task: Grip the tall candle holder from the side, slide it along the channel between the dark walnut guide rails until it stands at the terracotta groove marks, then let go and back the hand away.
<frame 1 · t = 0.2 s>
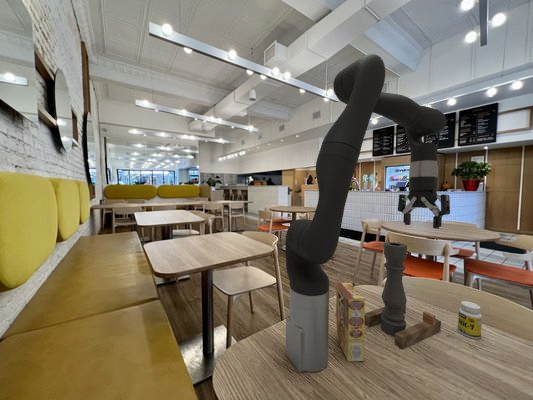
hand: (421, 226, 71), 29 cm above the table, tool pointing down, fingers open, 8 cm apart
candle holder: (392, 331, 63), on the table
supplement bottle: (469, 334, 62), on the table
guide rails: (400, 327, 64), on the table
candy box: (348, 349, 56), on the table
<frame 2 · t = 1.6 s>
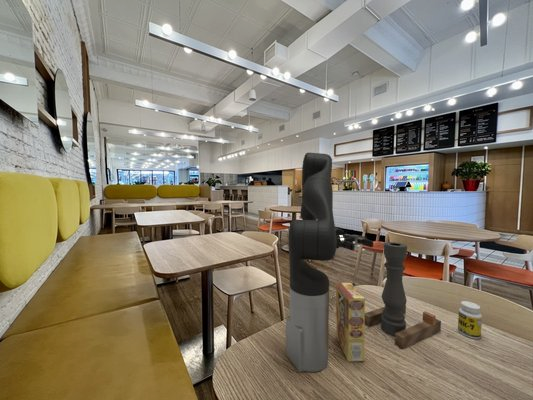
hand: (363, 245, 72), 22 cm above the table, tool horizontal, fingers open, 8 cm apart
nothing on the table moved.
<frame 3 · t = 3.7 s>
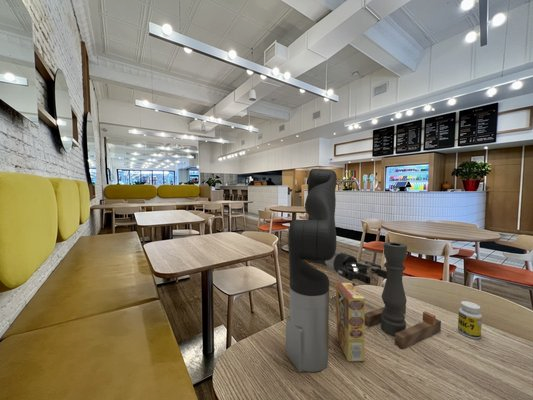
hand: (379, 278, 67), 13 cm above the table, tool horizontal, fingers open, 8 cm apart
nothing on the table moved.
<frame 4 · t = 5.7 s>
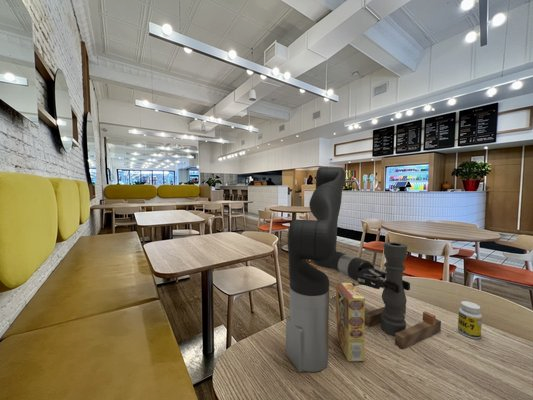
hand: (404, 288, 60), 14 cm above the table, tool horizontal, fingers closed on candle holder, 3 cm apart
candle holder: (392, 330, 63), on the table, touching gripper
everything else where it was.
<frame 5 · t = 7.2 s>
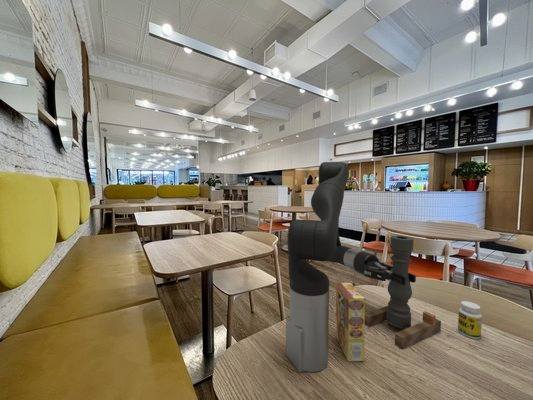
hand: (410, 280, 61), 15 cm above the table, tool horizontal, fingers closed on candle holder, 3 cm apart
candle holder: (398, 322, 64), point 1 cm above the table, touching gripper
everything else where it was.
when the fingers open (14 cm above the table, at t = 9.0 s): candle holder stays where it is, on the table.
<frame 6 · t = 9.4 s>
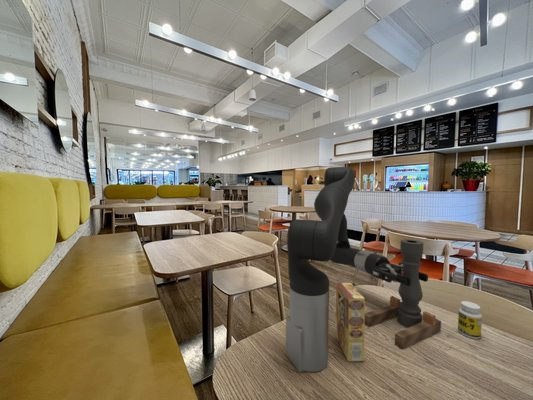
hand: (419, 280, 64), 14 cm above the table, tool horizontal, fingers open, 7 cm apart
candle holder: (409, 323, 66), on the table
everything else where it was.
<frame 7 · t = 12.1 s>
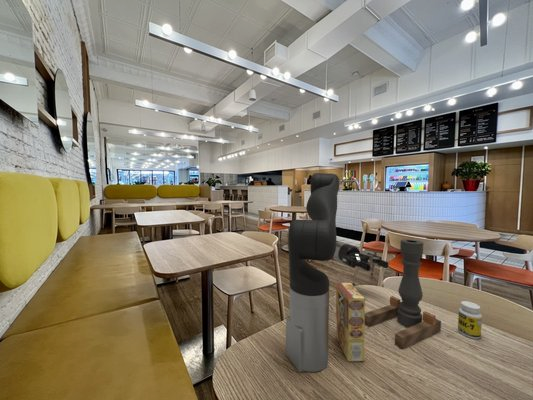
hand: (379, 266, 75), 14 cm above the table, tool horizontal, fingers open, 8 cm apart
nothing on the table moved.
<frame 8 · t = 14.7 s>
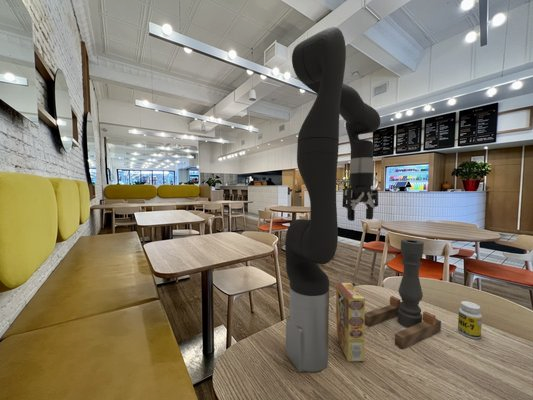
hand: (360, 219, 75), 30 cm above the table, tool pointing down, fingers open, 8 cm apart
nothing on the table moved.
at the end: candle holder 0.3 cm from the target spot, on the table; candle holder tilted 0°; the gripper is holding nothing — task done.
